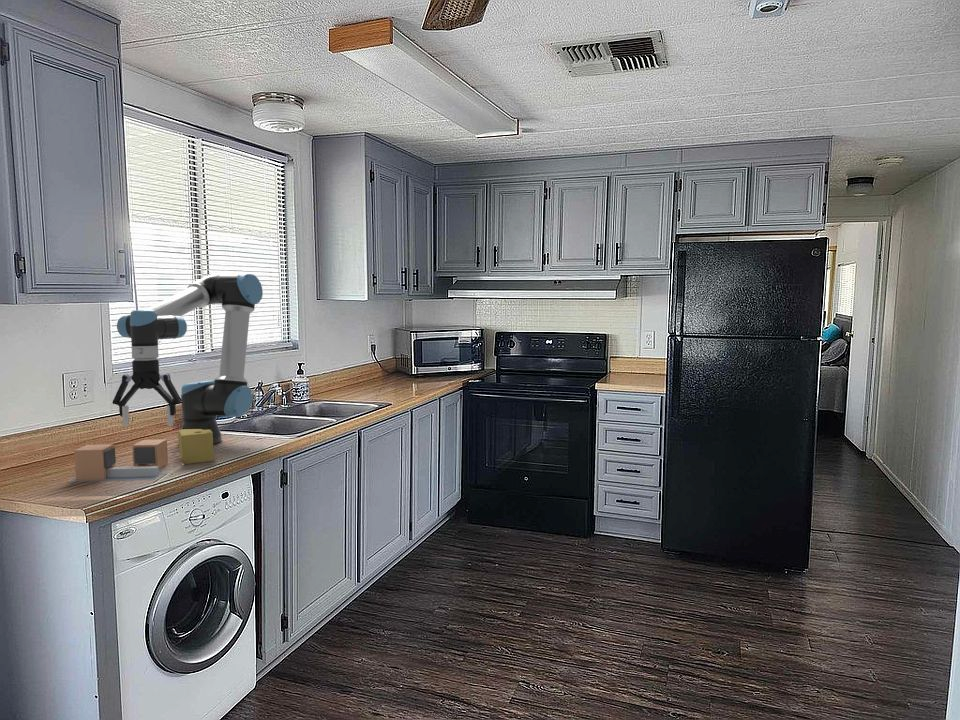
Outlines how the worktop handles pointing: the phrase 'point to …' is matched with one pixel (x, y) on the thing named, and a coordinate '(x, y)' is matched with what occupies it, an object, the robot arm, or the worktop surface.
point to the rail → (130, 473)
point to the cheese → (196, 445)
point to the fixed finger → (94, 461)
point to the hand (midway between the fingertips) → (148, 426)
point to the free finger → (150, 453)
